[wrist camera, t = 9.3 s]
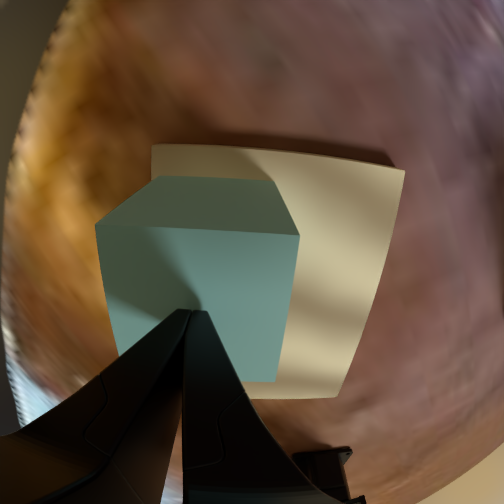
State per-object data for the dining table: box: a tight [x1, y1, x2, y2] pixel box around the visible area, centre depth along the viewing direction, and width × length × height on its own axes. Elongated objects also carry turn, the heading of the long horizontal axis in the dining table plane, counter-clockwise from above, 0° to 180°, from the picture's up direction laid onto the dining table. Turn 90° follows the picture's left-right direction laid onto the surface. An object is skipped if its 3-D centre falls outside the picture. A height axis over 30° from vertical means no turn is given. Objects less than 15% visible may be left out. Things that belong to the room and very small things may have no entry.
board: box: [151, 144, 405, 399], centre depth 17 cm, size 16×12×1 cm
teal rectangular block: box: [95, 176, 300, 382], centre depth 11 cm, size 5×5×7 cm
